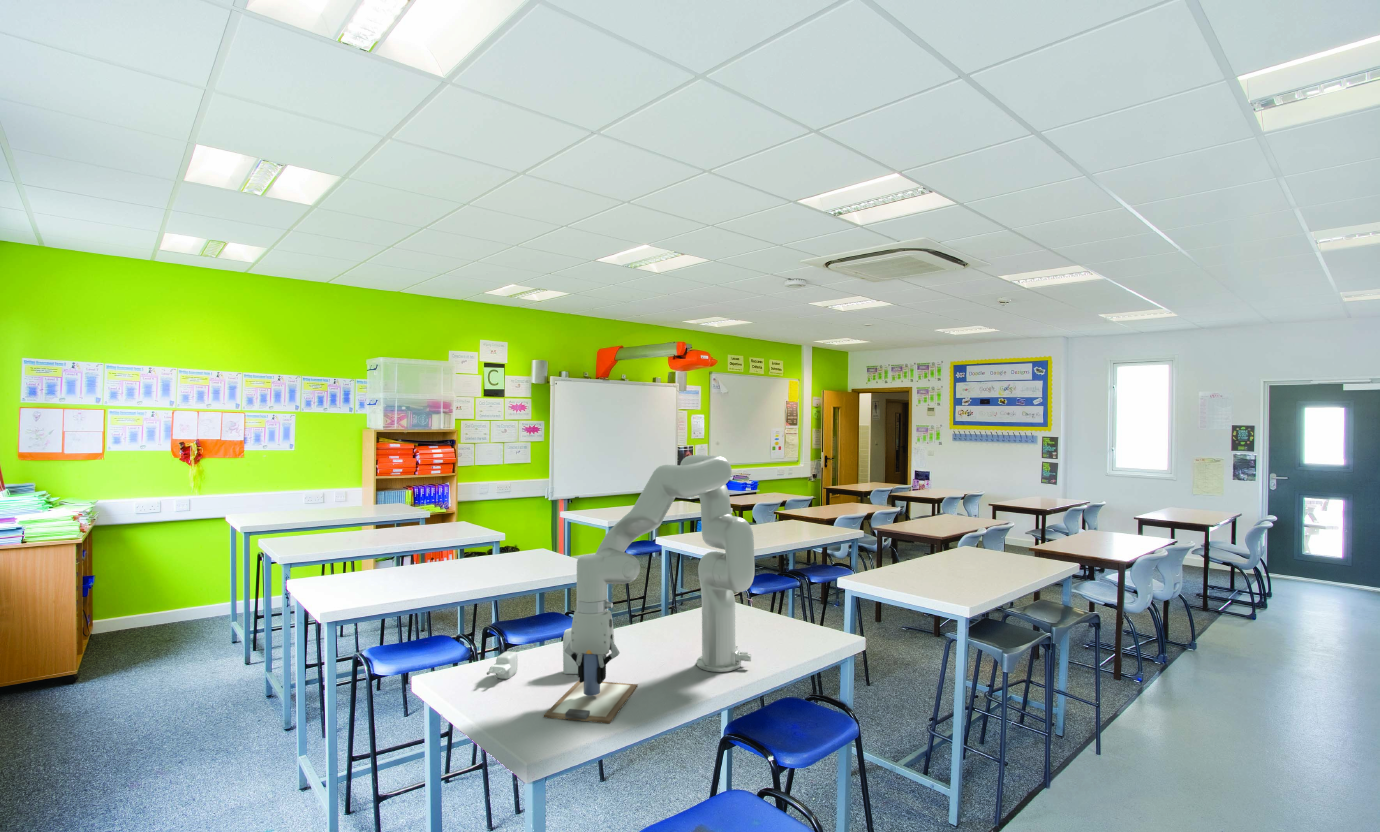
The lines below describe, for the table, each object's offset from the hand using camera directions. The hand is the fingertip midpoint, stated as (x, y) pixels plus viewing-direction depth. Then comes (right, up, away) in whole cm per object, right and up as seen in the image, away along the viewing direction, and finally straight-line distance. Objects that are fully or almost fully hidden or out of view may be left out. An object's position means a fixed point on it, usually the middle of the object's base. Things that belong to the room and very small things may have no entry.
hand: (591, 680), depth 161 cm
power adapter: (-26, -6, +14) cm, 30 cm away
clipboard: (0, -5, -1) cm, 5 cm away
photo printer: (-6, -6, +19) cm, 21 cm away
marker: (0, -3, 0) cm, 3 cm away
